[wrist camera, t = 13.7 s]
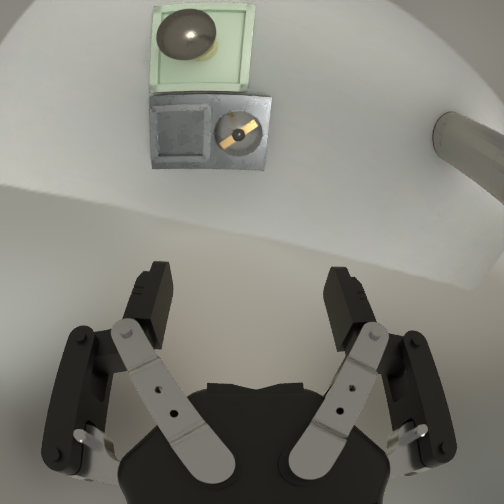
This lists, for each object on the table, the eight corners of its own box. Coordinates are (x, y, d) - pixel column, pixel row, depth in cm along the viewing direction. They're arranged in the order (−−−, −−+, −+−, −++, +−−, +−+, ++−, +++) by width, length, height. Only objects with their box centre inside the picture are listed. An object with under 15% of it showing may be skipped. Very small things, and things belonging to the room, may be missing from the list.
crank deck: (269, 96, 31) (273, 98, 29) (262, 165, 37) (264, 173, 35) (153, 95, 30) (147, 97, 27) (155, 164, 36) (150, 172, 33)
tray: (254, 7, 23) (255, 4, 22) (246, 90, 31) (247, 91, 29) (158, 9, 22) (154, 6, 20) (153, 91, 29) (149, 92, 28)
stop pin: (222, 29, 25) (218, 7, 15) (219, 63, 28) (213, 59, 17) (183, 30, 24) (158, 11, 14) (181, 64, 27) (154, 62, 17)
